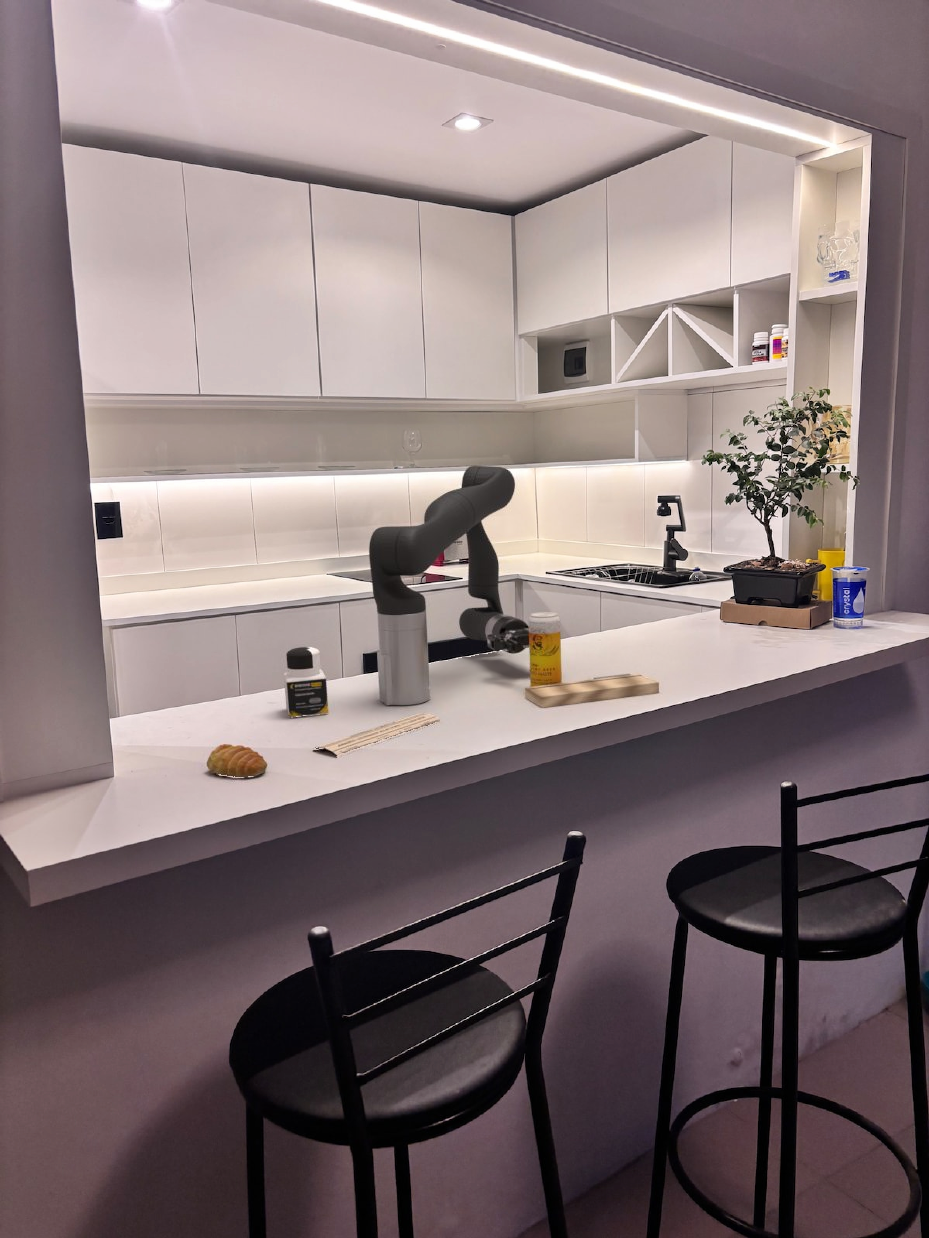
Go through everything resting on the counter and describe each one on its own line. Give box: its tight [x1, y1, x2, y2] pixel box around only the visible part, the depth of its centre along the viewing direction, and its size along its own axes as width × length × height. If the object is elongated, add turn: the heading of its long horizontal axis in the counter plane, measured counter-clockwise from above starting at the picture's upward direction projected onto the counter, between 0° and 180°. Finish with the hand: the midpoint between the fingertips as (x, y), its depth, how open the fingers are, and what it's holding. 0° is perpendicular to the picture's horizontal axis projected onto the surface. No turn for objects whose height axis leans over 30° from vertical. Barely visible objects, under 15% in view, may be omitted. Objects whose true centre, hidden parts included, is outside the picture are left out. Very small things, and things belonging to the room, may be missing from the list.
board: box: [524, 673, 660, 708], centre depth 168 cm, size 24×8×2 cm, turn 108°
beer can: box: [528, 611, 563, 687], centre depth 172 cm, size 6×6×15 cm
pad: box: [593, 673, 632, 679], centre depth 178 cm, size 8×7×1 cm
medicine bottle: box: [283, 646, 329, 717], centre depth 164 cm, size 7×7×12 cm
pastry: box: [206, 743, 268, 777], centre depth 132 cm, size 9×7×4 cm
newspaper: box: [314, 712, 441, 755], centre depth 148 cm, size 24×7×2 cm, turn 139°
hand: (536, 645), depth 176 cm, fingers open, 8 cm apart
